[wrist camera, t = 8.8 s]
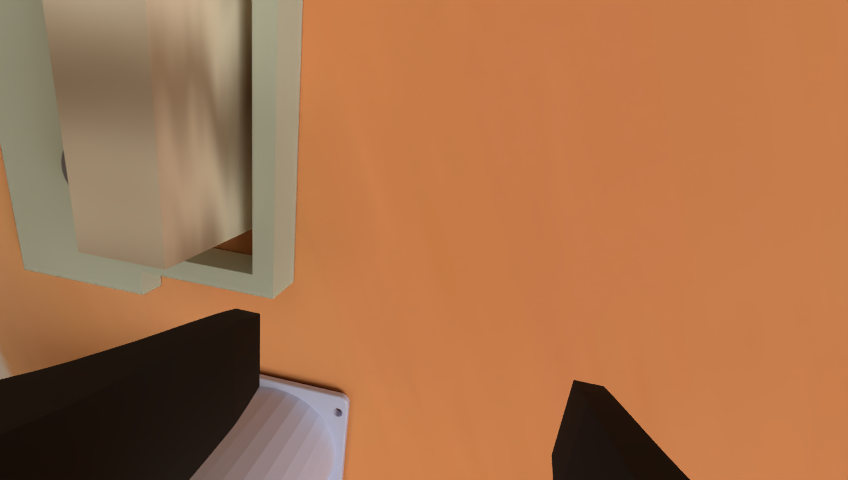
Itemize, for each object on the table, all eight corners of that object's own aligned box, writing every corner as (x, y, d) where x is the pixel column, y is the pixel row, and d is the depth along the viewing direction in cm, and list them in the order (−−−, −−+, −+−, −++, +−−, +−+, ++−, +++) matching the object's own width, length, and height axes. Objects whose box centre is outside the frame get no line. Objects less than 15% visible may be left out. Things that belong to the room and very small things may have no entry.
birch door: (258, 226, 20) (165, 270, 14) (193, 214, 20) (78, 252, 15) (259, -60, 16) (134, -152, 11) (180, -68, 17) (18, -160, 11)
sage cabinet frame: (292, 312, 21) (272, 332, 19) (47, 261, 23) (7, 275, 21) (308, -178, 15) (281, -221, 13) (-31, -197, 16) (-99, -237, 15)
